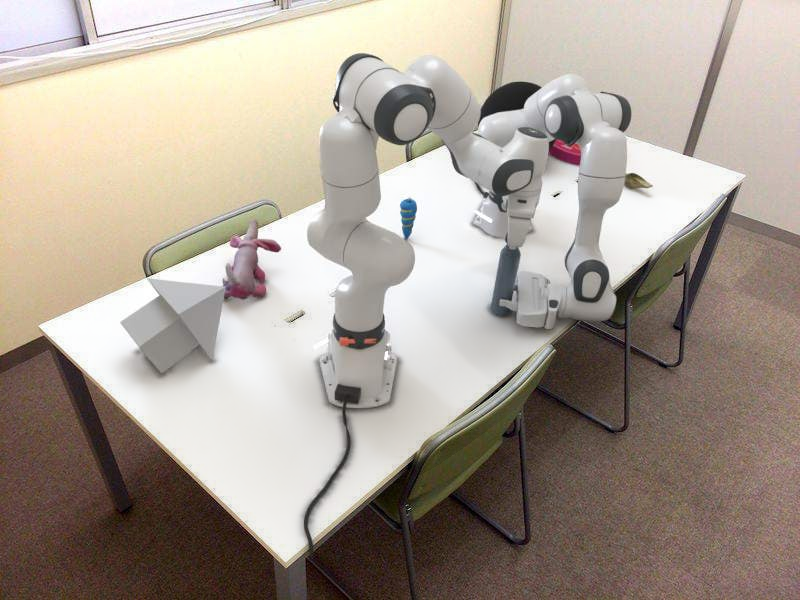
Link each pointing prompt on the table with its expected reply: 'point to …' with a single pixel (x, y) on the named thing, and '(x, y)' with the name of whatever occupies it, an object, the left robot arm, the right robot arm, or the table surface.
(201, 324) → the pyramid on cube
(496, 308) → the bottle
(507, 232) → the cap
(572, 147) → the sign
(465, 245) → the table surface
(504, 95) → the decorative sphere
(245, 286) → the toy
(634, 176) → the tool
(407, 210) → the ornament
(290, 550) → the table surface
